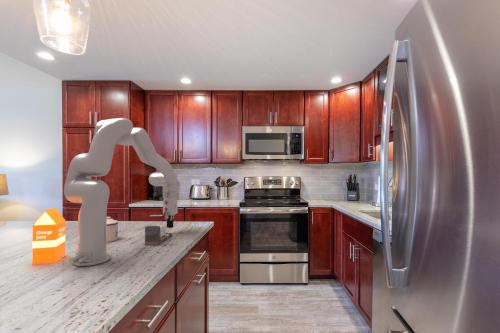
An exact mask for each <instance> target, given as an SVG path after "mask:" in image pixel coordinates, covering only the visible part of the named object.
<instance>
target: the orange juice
mask: <svg viewBox="0 0 500 333" xmlns="http://www.w3.org/2000/svg"><path fill="white" fill-rule="evenodd" d="M66 221H67V220H66V219H65V218H64V217H63V216H62V214H61V213H60V212H59V211H58V210H57V209H56V207H52V208H49V209H46V210H44V211H43V213H42V214H41V215H40V216H39V218H38V219H37V220H36V222H35V223H34V224H33V225H32V245H31V246H32V265H39V264H41V263H43V264H51V263H57V262H58V261H59V260H62V258H63V257H65V256H66Z"/></svg>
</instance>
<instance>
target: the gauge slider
mask: <svg viewBox="0 0 500 333" xmlns="http://www.w3.org/2000/svg"><path fill="white" fill-rule="evenodd" d="M155 226H160V238H161V237H163V236H165V233H166V223H155Z"/></svg>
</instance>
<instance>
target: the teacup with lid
mask: <svg viewBox="0 0 500 333" xmlns="http://www.w3.org/2000/svg"><path fill="white" fill-rule="evenodd" d="M118 225H119V221H118V220H115V219H113V218H111V216H107V240H106V243H109V242H110V243H111V242H115V241H117V240H118V238H119V226H118Z"/></svg>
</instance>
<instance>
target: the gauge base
mask: <svg viewBox="0 0 500 333" xmlns="http://www.w3.org/2000/svg"><path fill="white" fill-rule="evenodd" d="M172 236H173V232H165V236H163V237H161V238H160V226H156V225H147V226H145V227H144V246H159V245H160V244H162V243H163V242H165V241H166V240H168V239H170V238H171V237H172Z"/></svg>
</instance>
